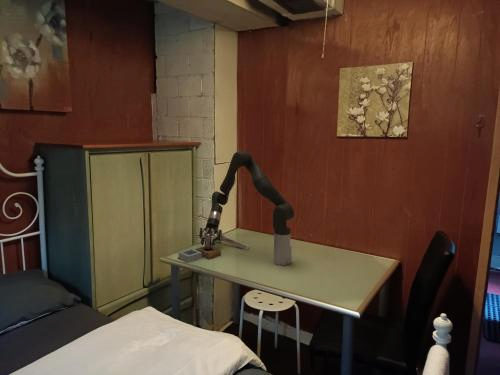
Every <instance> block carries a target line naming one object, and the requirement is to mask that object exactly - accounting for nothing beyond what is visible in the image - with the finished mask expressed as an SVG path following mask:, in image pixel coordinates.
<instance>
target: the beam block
mask: <svg viewBox="0 0 500 375" xmlns="http://www.w3.org/2000/svg"><path fill="white" fill-rule="evenodd" d="M195 250H197V251H199V252H202V258H204V259H206V260H212V259H215V258H217V257H221V256H222V255H221V254H222V252H221V251H222V250H221V249H220V248H216V247H214V246H212V250H211V251H205V245H204V246H200V247H197V248H195Z"/></svg>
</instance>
